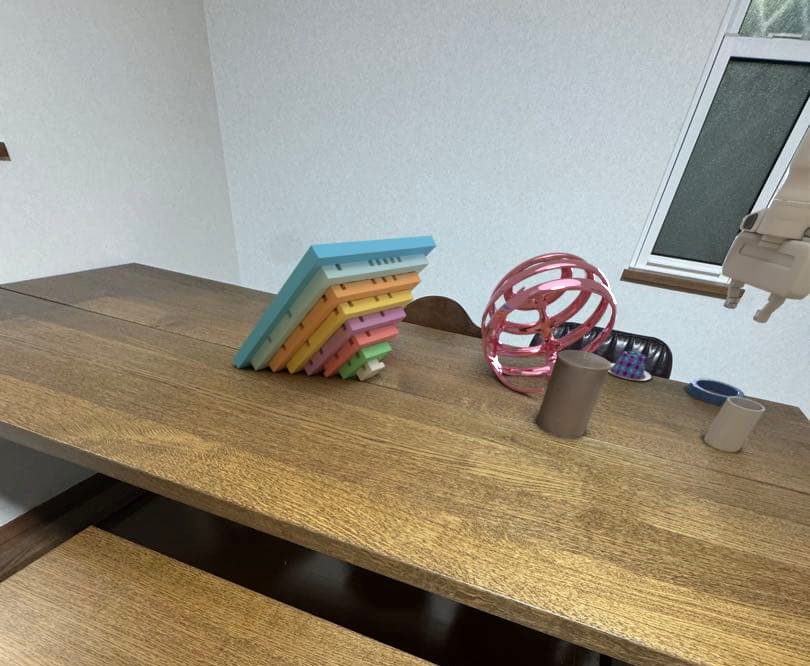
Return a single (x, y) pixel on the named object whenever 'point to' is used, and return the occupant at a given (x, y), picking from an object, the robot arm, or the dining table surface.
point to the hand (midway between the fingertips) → (743, 314)
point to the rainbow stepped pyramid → (338, 308)
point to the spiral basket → (543, 313)
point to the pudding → (631, 366)
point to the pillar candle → (572, 393)
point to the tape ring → (699, 383)
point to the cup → (733, 424)
